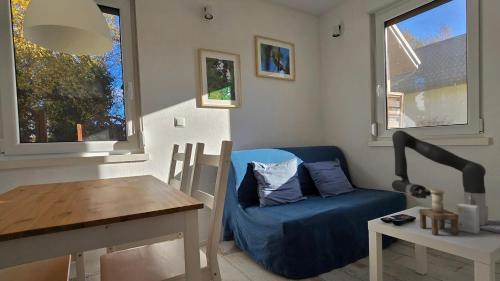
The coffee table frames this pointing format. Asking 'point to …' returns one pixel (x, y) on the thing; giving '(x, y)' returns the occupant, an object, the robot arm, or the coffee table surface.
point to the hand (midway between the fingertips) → (433, 196)
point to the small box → (468, 218)
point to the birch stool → (437, 200)
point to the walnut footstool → (439, 220)
